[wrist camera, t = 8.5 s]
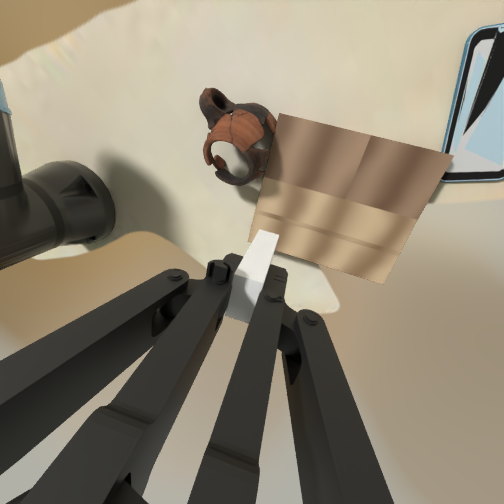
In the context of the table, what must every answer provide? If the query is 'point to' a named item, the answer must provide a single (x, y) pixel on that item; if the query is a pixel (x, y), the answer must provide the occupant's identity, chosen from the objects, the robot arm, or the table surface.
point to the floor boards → (355, 165)
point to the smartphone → (478, 110)
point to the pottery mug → (235, 132)
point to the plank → (331, 230)
